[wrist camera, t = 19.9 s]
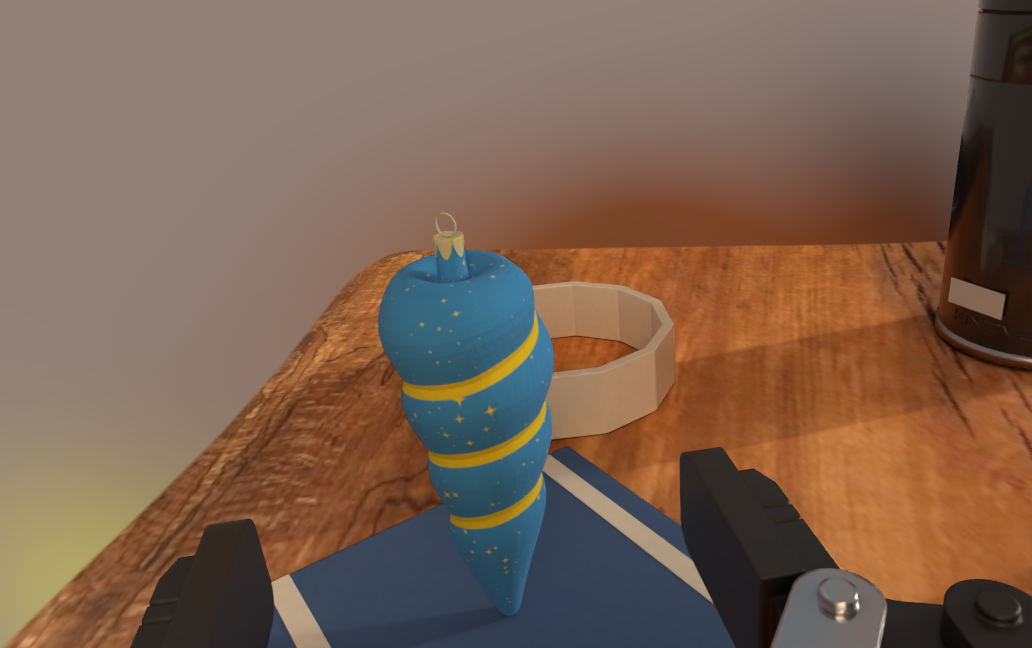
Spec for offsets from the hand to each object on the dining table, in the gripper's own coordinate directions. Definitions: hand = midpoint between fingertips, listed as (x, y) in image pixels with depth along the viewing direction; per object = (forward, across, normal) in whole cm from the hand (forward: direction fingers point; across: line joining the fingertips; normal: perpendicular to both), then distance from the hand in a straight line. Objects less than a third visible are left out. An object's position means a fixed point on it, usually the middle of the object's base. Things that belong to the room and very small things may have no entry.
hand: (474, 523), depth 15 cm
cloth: (+10, 0, +12) cm, 16 cm away
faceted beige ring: (+27, -6, +12) cm, 30 cm away
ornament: (+10, 0, +12) cm, 16 cm away
